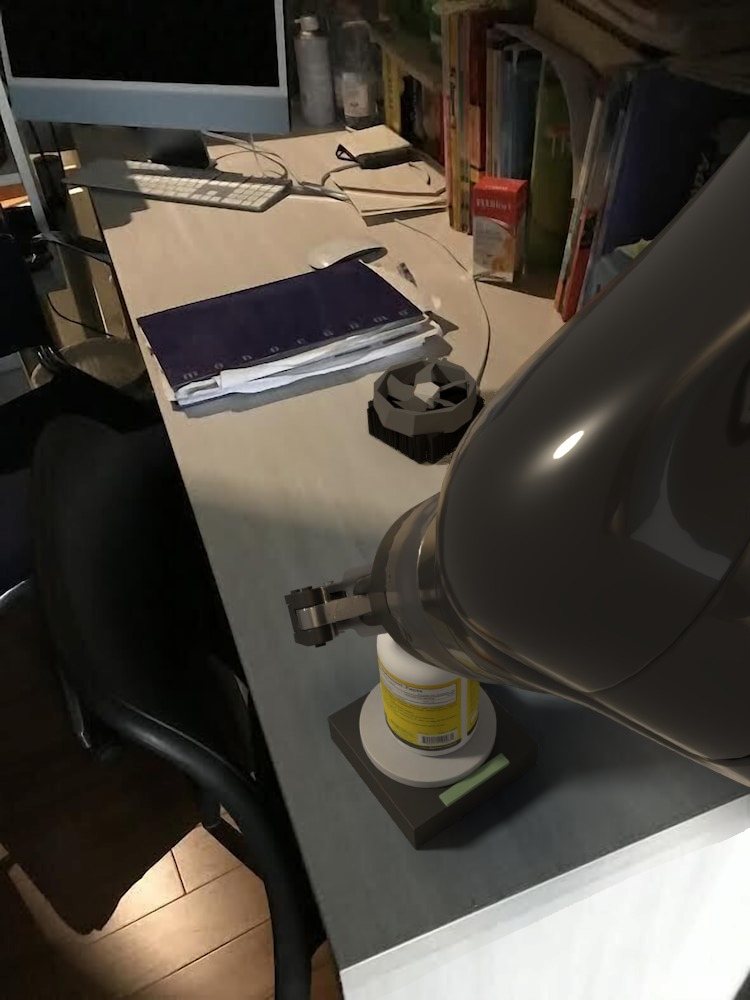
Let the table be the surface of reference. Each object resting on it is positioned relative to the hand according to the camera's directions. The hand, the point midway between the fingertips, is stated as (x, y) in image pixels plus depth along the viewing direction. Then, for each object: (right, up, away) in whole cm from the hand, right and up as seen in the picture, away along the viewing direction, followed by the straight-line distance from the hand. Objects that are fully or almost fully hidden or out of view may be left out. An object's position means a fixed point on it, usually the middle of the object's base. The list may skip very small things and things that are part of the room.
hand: (407, 586), depth 48 cm
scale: (+2, -12, +9) cm, 15 cm away
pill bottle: (+2, -10, +7) cm, 12 cm away
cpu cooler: (+3, +12, +37) cm, 39 cm away
